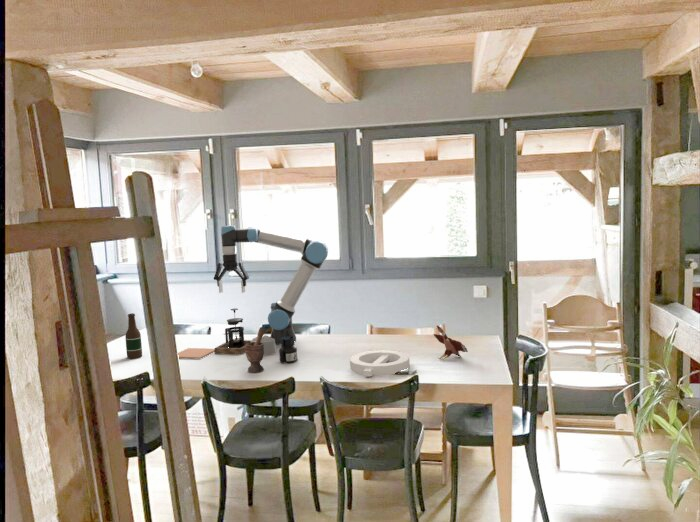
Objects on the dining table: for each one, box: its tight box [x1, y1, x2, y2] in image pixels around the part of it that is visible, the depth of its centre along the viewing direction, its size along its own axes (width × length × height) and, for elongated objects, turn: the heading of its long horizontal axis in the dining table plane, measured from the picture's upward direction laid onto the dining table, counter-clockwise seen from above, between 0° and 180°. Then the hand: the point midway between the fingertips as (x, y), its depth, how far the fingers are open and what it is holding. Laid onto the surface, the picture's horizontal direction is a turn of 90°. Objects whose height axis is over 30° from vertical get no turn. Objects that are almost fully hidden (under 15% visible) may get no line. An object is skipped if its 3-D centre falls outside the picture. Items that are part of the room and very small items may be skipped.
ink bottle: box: [278, 336, 298, 364], centre depth 284 cm, size 10×9×12 cm
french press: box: [224, 308, 245, 348], centre depth 313 cm, size 12×9×23 cm
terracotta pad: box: [177, 347, 215, 360], centre depth 308 cm, size 18×18×1 cm
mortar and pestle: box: [245, 326, 266, 374], centre depth 271 cm, size 12×9×20 cm
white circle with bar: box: [349, 349, 411, 377], centre depth 267 cm, size 28×28×5 cm
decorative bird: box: [433, 325, 468, 361], centre depth 275 cm, size 28×18×15 cm, turn 22°
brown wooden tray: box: [214, 339, 252, 355], centre depth 314 cm, size 16×19×3 cm
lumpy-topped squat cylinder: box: [250, 334, 277, 356], centre depth 304 cm, size 10×13×9 cm
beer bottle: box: [125, 313, 143, 360], centre depth 306 cm, size 8×8×24 cm
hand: (232, 292), depth 311 cm, fingers open, 13 cm apart
